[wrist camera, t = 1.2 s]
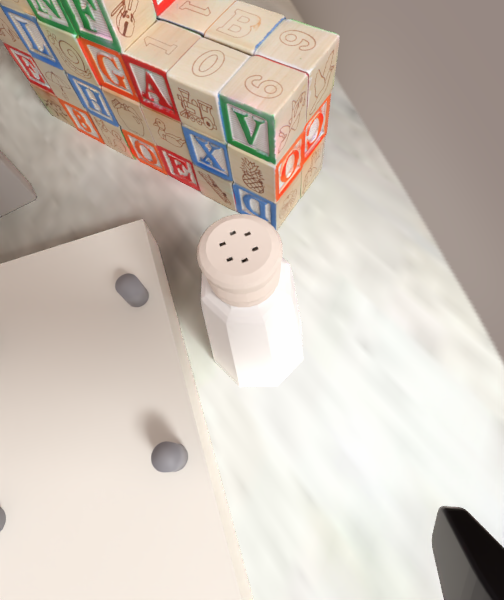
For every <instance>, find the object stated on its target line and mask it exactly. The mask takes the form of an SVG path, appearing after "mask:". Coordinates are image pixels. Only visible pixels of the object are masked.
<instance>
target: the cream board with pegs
mask: <svg viewBox="0 0 504 600" xmlns="http://www.w3.org/2000/svg"><path fill="white" fill-rule="evenodd" d="M0 600H254V599H253V595H252V591H251V588H250V584H249V580H248V576H247V573H246V569H245V565H244V562H243V558H242V554H241V551H240V547H239V543H238V539H237V536H236V532H235V528H234V525H233V521H232V517H231V513H230V510H229V506H228V502H227V499H226V495H225V491H224V488H223V484H222V480H221V476H220V473H219V469H218V465H217V462H216V458H215V454H214V450H213V447H212V443H211V439H210V436H209V432H208V428H207V425H206V421H205V417H204V413H203V410H202V406H201V402H200V399H199V395H198V391H197V388H196V384H195V380H194V376H193V373H192V369H191V365H190V362H189V358H188V354H187V350H186V347H185V343H184V339H183V336H182V332H181V328H180V325H179V321H178V317H177V313H176V310H175V306H174V302H173V299H172V295H171V291H170V287H169V284H168V280H167V276H166V273H165V269H164V265H163V262H162V258H161V254H160V250H159V247H158V244H157V242H156V241H155V239H154V237H153V235H152V234H151V232H150V230H149V228H148V227H147V225H146V223H145V221H144V220H143V219H140V220H137V221H134V222H131V223H128V224H124V225H121V226H118V227H115V228H112V229H109V230H105V231H102V232H99V233H96V234H93V235H90V236H87V237H83V238H80V239H77V240H74V241H71V242H68V243H64V244H61V245H58V246H55V247H52V248H49V249H45V250H42V251H39V252H36V253H33V254H30V255H27V256H23V257H20V258H17V259H14V260H11V261H8V262H4V263H1V264H0Z"/></svg>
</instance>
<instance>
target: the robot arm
mask: <svg viewBox="0 0 504 600" xmlns="http://www.w3.org/2000/svg"><path fill="white" fill-rule="evenodd" d="M432 548H433V553H434V557H435V562H436V566H437V571H438V575H439V580H440V584H441V589H442V593H443V597H444V600H504V548H503V547H502V546H501V545H500V544H499V543H498V542H497V541H496V540H495V539H494V538H493V537H492V536H491V535H490V534H489V532H488V531H487V530H486V529H485V528H484V527H483V526H482V525H481V524H480V523H479V522H478V521H477V520H476V519H475V518H474V517H473V516H472V515H471V514H470V513H469V512H468V511H466V510H465V509H463V508H461V507H449V506H442V507H440V508H439V510H438V513H437V517H436V521H435V526H434V530H433V534H432Z"/></svg>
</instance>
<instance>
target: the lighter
mask: <svg viewBox="0 0 504 600" xmlns="http://www.w3.org/2000/svg"><path fill="white" fill-rule="evenodd" d="M36 198H37V196H36V194H35V192H34V190H33V188H32V185H31V184H30V182H29V181H28V180H27V179H26V178H25V177H24V176H23V175H22V174H21V172H20V171H19V170H18V169H17V168H16V167H15V166H14V165H13V164H12V163H11V161H10V160H9V159H8V158H7V157H6V156H5V155H4V154H3V153H2V152H1V150H0V217H2V216H4V215H6V214H8V213H10V212H12V211H14V210H16V209H18V208H20V207H22V206H24V205H26V204H28V203H30V202H32V201H34V200H35V199H36Z"/></svg>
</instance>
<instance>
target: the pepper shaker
mask: <svg viewBox="0 0 504 600" xmlns="http://www.w3.org/2000/svg"><path fill="white" fill-rule="evenodd" d="M282 254H283V251H282V242H281V239H280V236H279V234H278V232H277V231H276V230H275V228H274V227H273V226H272V225H271V224H270V223H268V222H267V221H266V220H264V219H262V218H259V217H257V216H253V215H248V214H234V215H231V216H227V217H224V218H222V219H220V220H218V221H216V222H214V223H213V224H212V225H211V226H210V227H209V228H207V229H206V231H205V232H204V234H203V235H202V236H201V238H200V241H199V244H198V247H197V260H198V264H199V267H200V269H201V270H202V283H201V305H202V311H203V315H204V319H205V324H206V328H207V332H208V336H209V341H210V345H211V349H212V353H213V358H214V361H215V362H216V363H217V364H218V365H219V366H220V367H221V368H222V369H223V370H224V371H225V372H226V373H227V374H228V375H229V376H230V377H231V378H232V380H233V381H234V382H235V383H236V384H237V385H238V386H239V387H272V386H278V385H279V384H280V383H281V382H282V381H283V380H284V379H285V378H286V377H287V376H288V375H289V374H290V373H291V372H292V371H293V370H294V369H295V368H296V367H297V366H298V365H299V364H300V363H301V362H302V360H303V344H302V324H301V318H300V313H299V307H298V301H297V296H296V290H295V284H294V278H293V273H292V269H291V266H290V263H289V262H288V261H286V260H285V259H284V258H283V257H282Z"/></svg>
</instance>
